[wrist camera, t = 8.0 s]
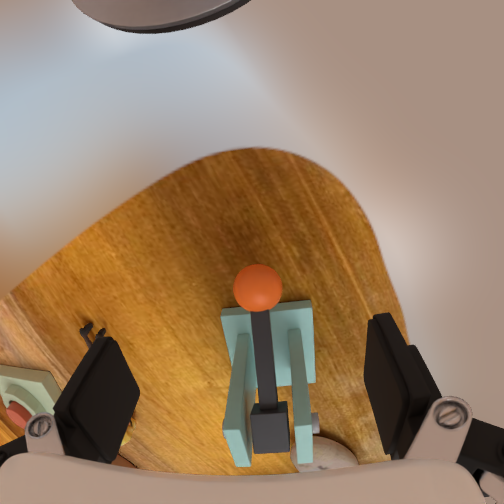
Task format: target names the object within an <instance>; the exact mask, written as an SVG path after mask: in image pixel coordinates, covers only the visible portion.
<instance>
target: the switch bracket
mask: <svg viewBox="0 0 504 504" xmlns="http://www.w3.org/2000/svg"><path fill="white" fill-rule="evenodd" d="M269 311H270V321H271V331H272V342H273V352H274V363H275V374H276V385H277V386H288V385H292V397H293V414H294V429H295V440H296V452H297V463H298V464H302V463H312V462H313V434H315V433H319V417H318V413H311V408H310V399H309V391H308V383H315V382H316V380H315V353H314V331H313V313H312V304H311V300H304V301H295V302H286V303H277V304H276V305H275V306H274V307H273V308H272V309H270V310H269ZM220 317H221V322H222V326H223V330H224V335H225V339H226V344H227V348H228V352H229V356H230V361H231V365H232V372H231V379H230V385H229V392H228V399H227V405H226V412H225V419H224V420H223V426H222V429H223V436H224V438H225V439H226V440H227V443H228V446H229V449H230V451H231V454H232V457H233V459H234V462H235V465H236V467H250V466H251V458H252V443H253V440H252V431H251V422H250V413H251V410H252V408H253V405H254V403H255V394H256V388H258V386H257V376H256V366H255V356H254V346H253V336H252V326H251V315H250V311H247V310H245V309H244V308H242V307H235V308H224V309H222V312H221V316H220Z"/></svg>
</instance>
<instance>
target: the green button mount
mask: <svg viewBox="0 0 504 504" xmlns="http://www.w3.org/2000/svg"><path fill="white" fill-rule="evenodd" d="M61 393H62V392H61V390H60V388H59V387H58V385H57V383H56V381H55V380H54V378H53V376H52V375H51V373H50V372H48V371H40V370H33V369H26V368H19V367H13V366H7V365H1V364H0V394H1V396H2V399H3V402H4V404H5V406H6V407H7V408H8V406H9V405H10V404H11V402H12V401H16V402H18V403H19V404H21V405H22V406H24V407H25V408H26V409H27V410H28V411H29V412H30V414H31V415H32V416H34V415H35V414H37V413H41V412H48V413H50V414H52V415H54V413H55V412H54V410H53V409H52V408H53V407H54V405H55V403H56V401H57V400H58V398H59V396H60V395H61Z"/></svg>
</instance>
